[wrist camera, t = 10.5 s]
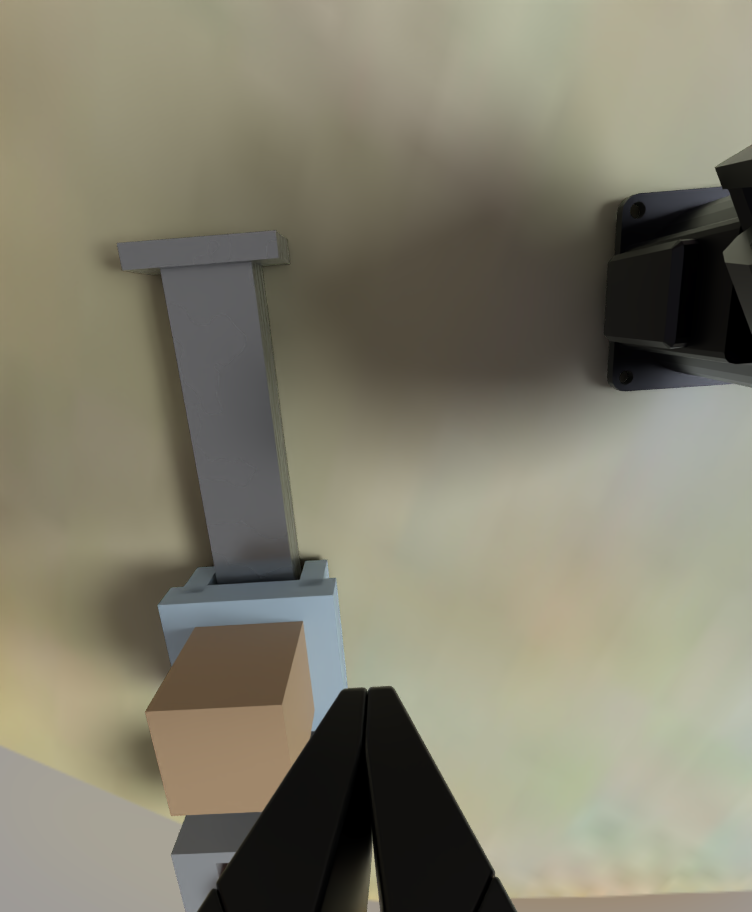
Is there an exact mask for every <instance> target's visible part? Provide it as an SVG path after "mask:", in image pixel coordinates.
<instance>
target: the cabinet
mask: <svg viewBox="0 0 752 912" xmlns="http://www.w3.org/2000/svg"><path fill="white" fill-rule="evenodd" d="M261 813H262V812H246V813H224V814H201V815H186V817H185V820H184V822H183V825H182V827H181V830H180V832H179V835H178V838H177V840H176V843H175V845H174V848H173V851H172V853H171V857H172V861H173V865H174V869H175V873H176V877H177V881H178V884H179V888H180V892H181V896H182V900H183V904H184V908H185V912H197V911H198V909H199V908H200V906H201V904H202V903H203V901H204V900H205V898H206V897H207V895H208V894H209V892H210V891H211V889H213V888H215V889H216V882H217V880H218V879H219V877H220V876H221V874H222V873H223V871H224V870H225V868H226V867H227V865H228V863H229V862H230V860H231V859H232V857H233V856H234V854H235V853H236V851H237V850H238V848H239V847H240V845H241V844H242V842H243V840H244V839H245V837H246V836H247V834H248V833H249V831H250V830H251V828H252V827H253V825H254V824H255V822H256V820H257V819H258V817H259V816H260V814H261Z"/></svg>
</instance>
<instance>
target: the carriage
mask: <svg viewBox="0 0 752 912" xmlns="http://www.w3.org/2000/svg"><path fill="white" fill-rule="evenodd" d="M158 610H159V614H160V618H161V623H162V627H163V632H164V636H165V641H166V645H167V650H168V654H169V659H170V663H171V669H170V670H169V672H168V674H167V675H166V677H165V679H164V681H163V682H162V684H161V686H160V687H159V689H158V691H157V692H156V694H155V696H154V698H153V699H152V701H151V703H150V704H149V706H148V708H147V709H146V711H145V714H146V718H147V722H148V726H149V730H150V734H151V738H152V742H153V746H154V750H155V754H156V758H157V762H158V766H159V770H160V774H161V778H162V782H163V786H164V790H165V794H166V798H167V802H168V806H169V810H170V814H171V816H179V815H201V814H224V813H246V812H262V811H263V810H264V808H265V807H266V805H267V804H268V802H269V800H270V799H271V797H272V796H273V794H274V793H275V791H276V790H277V788H278V787H279V785H280V784H281V782H282V781H283V779H284V777H285V776H286V774H287V773H288V771H289V770H290V768H291V767H292V765H293V764H294V762H295V761H296V759H297V757H298V756H299V754H300V753H301V751H302V750H303V748H304V747H305V745H306V744H307V742H308V741H309V739H310V736H311V731H315V730H316V728H317V727H318V725H319V724H320V722H321V721H322V719H323V718H324V716H325V714H326V713H327V711H328V710H329V708H330V707H331V705H332V704H333V702H334V701H335V699H336V698H337V696H338V694H339V693H340V692H341V690H343V689H345V688H348V685H347V676H346V667H345V657H344V648H343V638H342V629H341V620H340V610H339V601H338V591H337V582H336V578H329V572H328V563H327V560H313V561H305V564H304V567H303V571H302V574H301V577H300V580H290V581H273V582H256V583H239V584H222V585H218V583H217V578H216V572H215V567H214V566H213V567H198V568H197V569H196V570H195V572H194V573H193V575H192V576H191V577H190V579H189V580H188V582H187V583H186V584H185V586H184V587H172V588H170V590H169V591H168V592H167V594H166V595H165V596H164V597H163V599H162V600H161V601H160V603H159V604H158Z"/></svg>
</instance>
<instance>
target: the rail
mask: <svg viewBox="0 0 752 912" xmlns="http://www.w3.org/2000/svg"><path fill="white" fill-rule="evenodd" d="M117 247H118V252H119V257H120V261H121V266H122V270H123V271H129V272H136V273H142V274H148V275H155V274H161V277H162V282H163V288H164V293H165V298H166V304H167V309H168V315H169V320H170V326H171V331H172V337H173V342H174V348H175V353H176V359H177V364H178V370H179V375H180V381H181V386H182V392H183V397H184V403H185V408H186V414H187V419H188V424H189V430H190V435H191V441H192V446H193V452H194V457H195V463H196V468H197V474H198V479H199V485H200V490H201V496H202V501H203V507H204V512H205V518H206V523H207V529H208V534H209V540H210V545H211V550H212V556H213V561H214V567H215V572H216V578H217V583H218V585H222V584H239V583H256V582H273V581H290V580H300V577H301V567H300V559H299V551H298V543H297V535H296V528H295V520H294V512H293V504H292V496H291V489H290V481H289V473H288V465H287V457H286V450H285V442H284V434H283V426H282V418H281V411H280V403H279V395H278V387H277V379H276V371H275V364H274V356H273V348H272V340H271V332H270V325H269V317H268V309H267V301H266V293H265V286H264V278H263V270H262V266H270V265H282V264H290V259H289V250H288V241H287V239H286V238H285V237H284V236H282V235H281V234H280V233H278V232H277V231H276V230H274V231H261V232H249V233H237V234H224V235H212V236H199V237H187V238H174V239H162V240H150V241H137V242H125V243H117ZM313 733H314V731H311V736H312V734H313ZM311 736H310V738H311Z"/></svg>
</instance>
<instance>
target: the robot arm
mask: <svg viewBox="0 0 752 912" xmlns="http://www.w3.org/2000/svg"><path fill="white" fill-rule="evenodd" d="M715 169H716V172H717V175H718V178H719V180H720V183H721V186H722V187H713V188H700V189H688V190H676V191H663V192H651V193H639V194H636V195H632V196H630V197H628V198H626V199H625V200H624V201H623V202H622V203H621V204H620V206H619V207H618V212H617V222H616V239H615V256H614V257H613V258H612V259H611V260H610V261H609V263H608V270H607V288H606V306H605V324H604V335H605V336H606V337H607V338H608V340H610V341H609V358H608V374H607V378H608V383H609V384H610V386H611V387H613V388H614V389H617V390H620V391H636V390H650V389H665V388H679V387H694V386H708V385H723V384H738V385H743V386H747V387H752V145H750V146H749V147H747V148H745V149H744V150H742V151H740V152H739V153H737V154H735V155H734V156H732V157H730V158H729V159H727V160H725V161H724V162H722V163H720V164H719V165H717V166H716V167H715ZM633 204H634V205H637V206H638V207H639V210H640V213H639V216H638V217H637V218H633V217H632V216H631V214H630V209H631V206H632V205H633ZM623 371H627V372H628V378H627V380H626V381H625V382H622V383H621V382H620V381H619V376H620V374H621V373H622V372H623ZM372 841H373V848H374V858H375V868H376V877H377V886H378V894H379V903H380V912H517V910H516V909H515V907H514V905H513V903H512V901H511V899H510V898H509V896H508V894H507V892H506V890H505V889H504V887H503V885H502V883H501V881H500V879H499V878H498V877H495V871H494V869H493V867H492V866H491V864H490V862H489V860H488V858H487V856H486V855H485V853H484V851H483V849H482V847H481V845H480V844H479V842H478V840H477V838H476V836H475V835H474V833H473V831H472V829H471V827H470V825H469V824H468V822H467V820H466V818H465V816H464V815H463V813H462V811H461V809H460V807H459V805H458V804H457V802H456V800H455V798H454V796H453V795H452V793H451V791H450V789H449V787H448V785H447V784H446V782H445V780H444V778H443V776H442V774H441V773H440V771H439V769H438V767H437V765H436V764H435V762H434V760H433V758H432V756H431V754H430V753H429V751H428V749H427V747H426V745H425V744H424V742H423V740H422V738H421V736H420V734H419V733H418V731H417V729H416V727H415V725H414V724H413V722H412V720H411V718H410V716H409V714H408V713H407V711H406V709H405V707H404V705H403V703H402V702H401V700H400V698H399V696H398V694H397V693H396V691H395V689H394V688H393V687H391V686H380V687H371V688H369V690H368V691H367V689H366V688H363V687H361V688H345V689H343V690H341V692H340V693H339V694H338V696H337V698H336V699H335V701H334V702H333V704H332V705H331V707H330V708H329V710H328V711H327V713H326V714H325V716H324V718H323V719H322V721H321V722H320V724H319V725H318V727H317V728H316V730H315V731H314V733H313V734H312V736H311V738H310V739H309V741H308V742H307V744H306V745H305V747H304V748H303V750H302V751H301V753H300V754H299V756H298V757H297V759H296V761H295V762H294V764H293V765H292V767H291V768H290V770H289V771H288V773H287V774H286V776H285V777H284V779H283V781H282V782H281V784H280V785H279V787H278V788H277V790H276V791H275V793H274V794H273V796H272V797H271V799H270V800H269V802H268V804H267V805H266V807H265V808H264V810H263V811H262V813H261V814H260V816H259V817H258V819H257V820H256V822H255V824H254V825H253V827H252V828H251V830H250V831H249V833H248V834H247V836H246V837H245V839H244V840H243V842H242V844H241V845H240V847H239V848H238V850H237V851H236V853H235V854H234V856H233V857H232V859H231V860H230V862H229V863H228V865H227V867H226V868H225V870H224V871H223V873H222V874H221V876H220V877H219V879H218V880H217V882H216V889H215V888H213V889H211V891H210V892H209V894H208V895H207V897H206V898H205V900H204V901H203V903H202V904H201V906H200V908H199V909H198V911H197V912H367V904H368V893H369V883H370V872H371V860H372Z"/></svg>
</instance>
